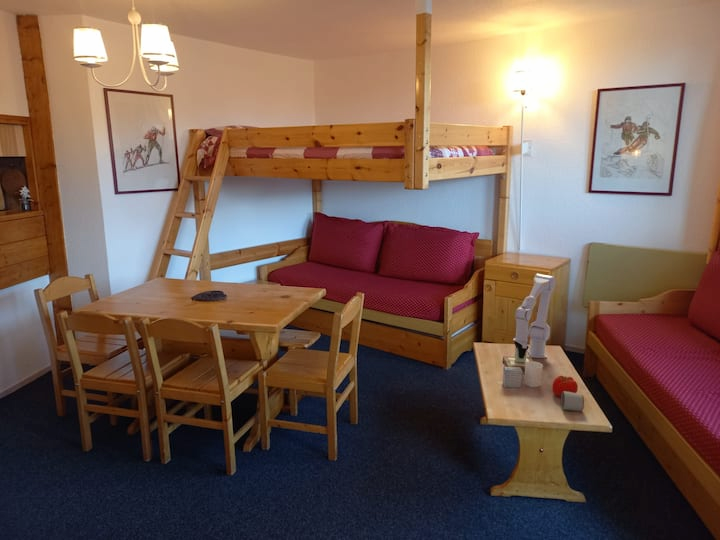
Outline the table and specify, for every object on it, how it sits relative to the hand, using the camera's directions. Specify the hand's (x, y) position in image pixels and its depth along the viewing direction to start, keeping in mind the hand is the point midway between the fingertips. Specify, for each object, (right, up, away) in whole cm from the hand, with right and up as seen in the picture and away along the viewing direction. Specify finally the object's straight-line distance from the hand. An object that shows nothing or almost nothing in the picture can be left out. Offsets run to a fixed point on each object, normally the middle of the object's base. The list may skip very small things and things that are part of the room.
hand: (520, 356), depth 262 cm
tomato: (+10, -13, -31) cm, 35 cm away
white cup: (0, -10, -19) cm, 22 cm away
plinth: (0, -5, +1) cm, 5 cm away
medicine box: (-10, -11, -21) cm, 25 cm away
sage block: (0, -2, 0) cm, 2 cm away
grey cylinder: (+9, -15, -41) cm, 45 cm away
